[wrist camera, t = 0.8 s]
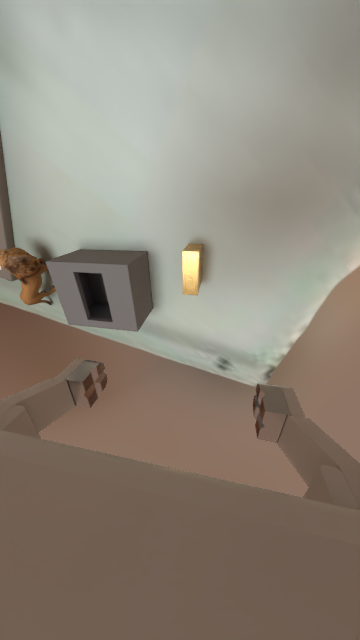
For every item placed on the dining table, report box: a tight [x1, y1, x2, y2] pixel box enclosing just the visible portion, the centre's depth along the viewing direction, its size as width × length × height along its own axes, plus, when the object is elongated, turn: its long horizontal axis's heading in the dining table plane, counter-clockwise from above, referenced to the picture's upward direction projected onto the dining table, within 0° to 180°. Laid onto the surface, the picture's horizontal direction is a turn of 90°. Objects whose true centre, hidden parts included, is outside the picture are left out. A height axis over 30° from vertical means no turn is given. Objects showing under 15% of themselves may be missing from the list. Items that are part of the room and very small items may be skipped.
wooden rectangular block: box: [183, 244, 203, 295], centre depth 33 cm, size 7×2×6 cm, turn 1°
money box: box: [45, 249, 153, 332], centre depth 37 cm, size 12×14×9 cm
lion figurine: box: [0, 247, 56, 305], centre depth 40 cm, size 15×5×9 cm, turn 170°
